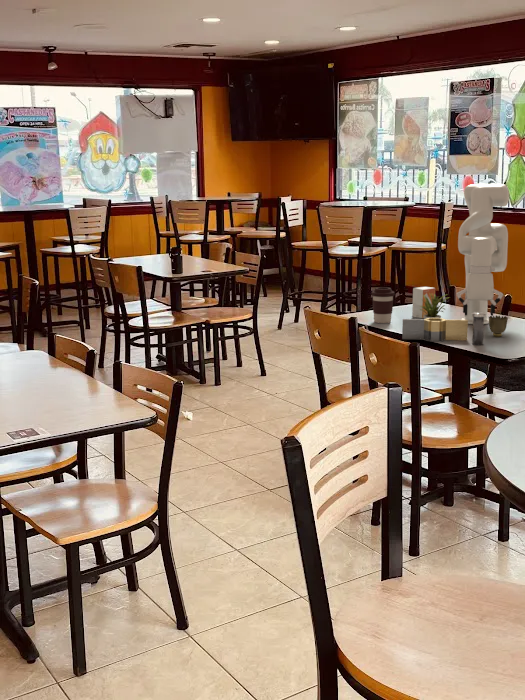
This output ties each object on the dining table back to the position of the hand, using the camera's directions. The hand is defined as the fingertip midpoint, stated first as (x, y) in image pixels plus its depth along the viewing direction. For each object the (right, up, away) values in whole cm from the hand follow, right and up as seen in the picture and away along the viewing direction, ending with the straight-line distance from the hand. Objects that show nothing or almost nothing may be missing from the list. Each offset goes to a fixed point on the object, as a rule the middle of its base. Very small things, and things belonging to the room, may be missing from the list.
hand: (478, 315), depth 331 cm
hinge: (-15, -9, +12) cm, 21 cm away
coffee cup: (-30, -1, +49) cm, 58 cm away
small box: (-10, +2, +61) cm, 62 cm away
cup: (+11, -8, +16) cm, 21 cm away
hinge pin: (0, -11, +3) cm, 11 cm away
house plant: (-11, -5, +29) cm, 32 cm away
